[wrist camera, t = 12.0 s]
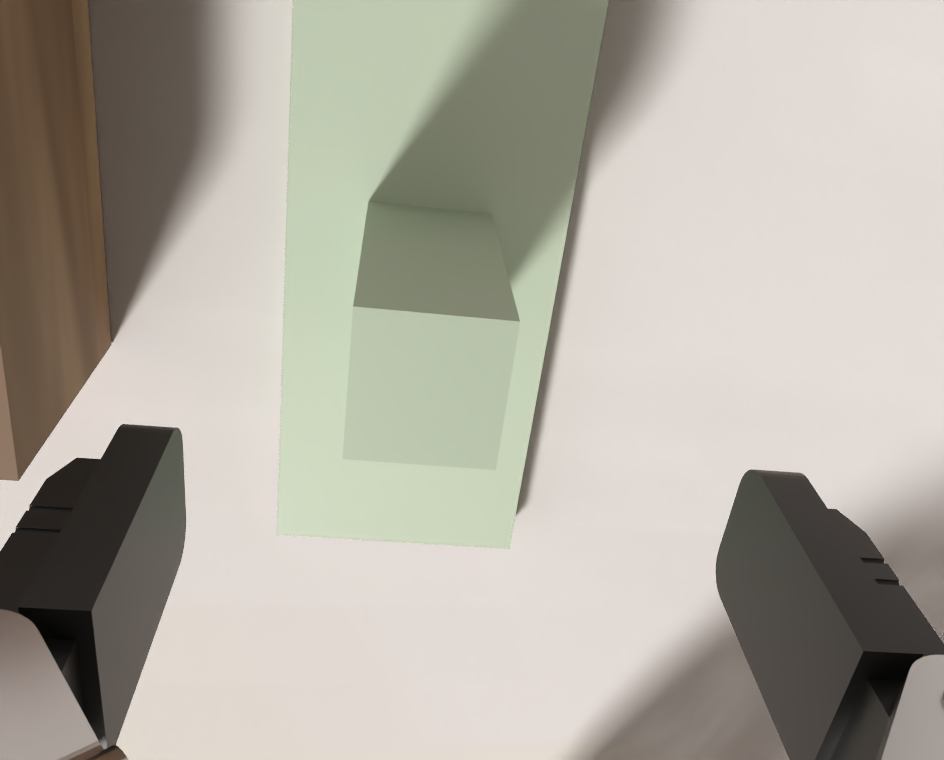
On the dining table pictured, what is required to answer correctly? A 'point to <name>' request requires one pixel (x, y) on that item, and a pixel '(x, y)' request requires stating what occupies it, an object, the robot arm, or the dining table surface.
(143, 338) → the dining table surface
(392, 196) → the lid
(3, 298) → the box
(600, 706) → the dining table surface
